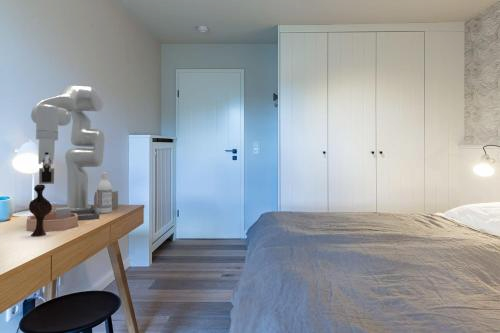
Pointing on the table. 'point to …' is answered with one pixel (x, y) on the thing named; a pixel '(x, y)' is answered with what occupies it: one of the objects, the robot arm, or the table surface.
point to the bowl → (53, 222)
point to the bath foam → (104, 195)
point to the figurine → (39, 210)
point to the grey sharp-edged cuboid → (63, 213)
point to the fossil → (114, 200)
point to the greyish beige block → (41, 176)
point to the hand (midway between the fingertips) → (46, 181)
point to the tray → (85, 217)
